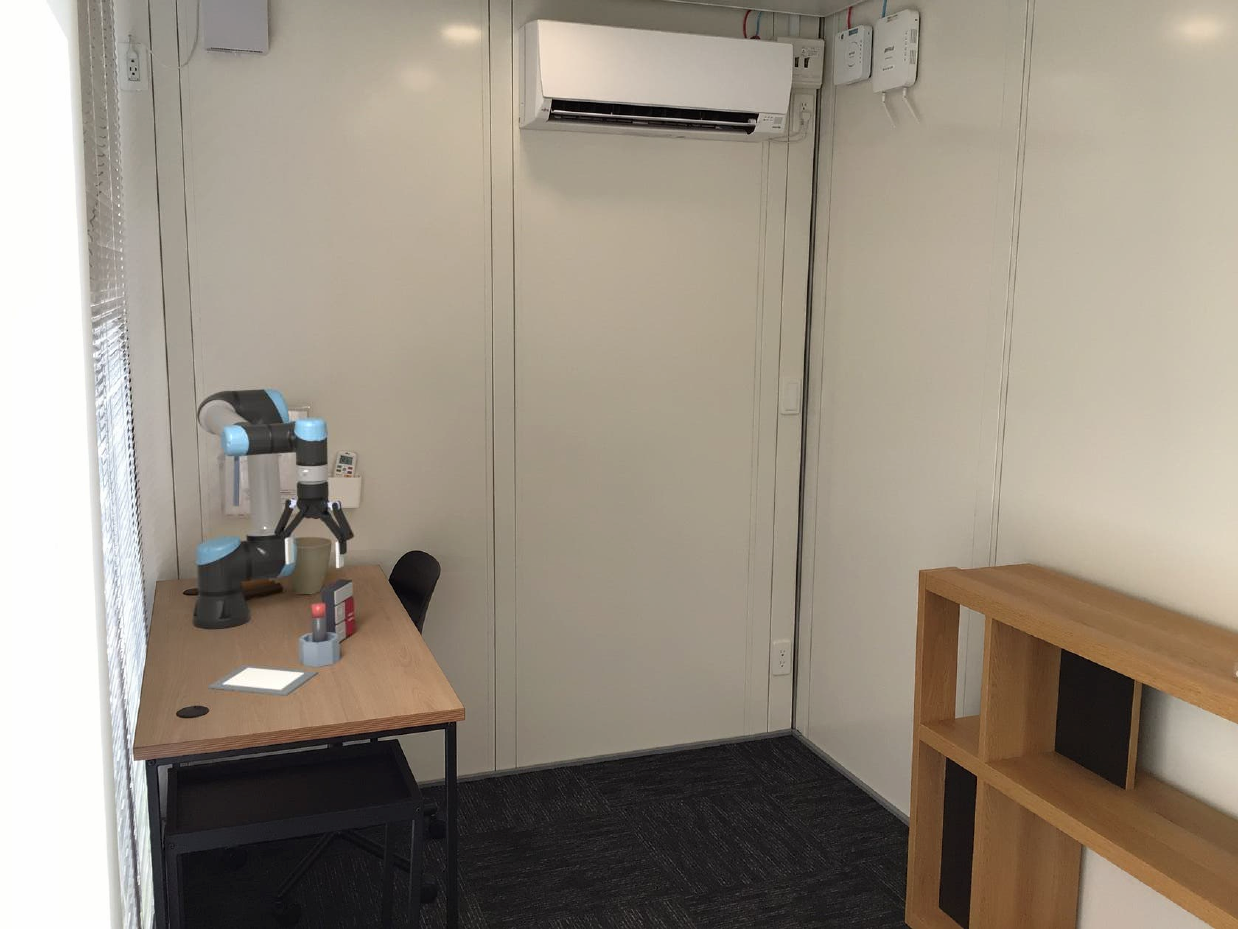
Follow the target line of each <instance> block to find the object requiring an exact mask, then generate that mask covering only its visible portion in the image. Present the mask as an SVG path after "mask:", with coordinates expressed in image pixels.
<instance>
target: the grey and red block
mask: <svg viewBox="0 0 1238 929" xmlns="http://www.w3.org/2000/svg"><path fill="white" fill-rule="evenodd" d="M320 592H321V595H320V596H321V603H325V606H326V632H333V633H335V634H336V635H338V636H339V643H340V642H342V641H343V640H344V639H346V638H348V637H349V636H350V635H352V634H354V632H355V629H356V628H355V599H354V598H355V597H354V596H353V595H354V582H353V580H352V579H342V578H339V579H338V580H336V581H334V582H332V583H331V584H329V585H327V586H325V587H324V588H321V590H320Z"/></svg>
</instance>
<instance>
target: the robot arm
mask: <svg viewBox="0 0 1238 929" xmlns="http://www.w3.org/2000/svg"><path fill="white" fill-rule="evenodd" d="M289 414H290V413H289V410H288V406H287V402H286V400H285V398H284V396H283V394H282V393H281V392H280V391H279V390H277V389H266V388H265V389H264V388H262V389H241V390H238V389H237V390H222V391H218V392H215V393H213V394H211V395H209V396H207V397H206V398H204V400H202V401H201V403H200V404H199V405H198V408H197V411H196V418H197V421H198V424H199V426H200V427H201V428H202V429H203V430H204V431H205V432H207V433H208V434H211V435H216V436H217V437H218V438H220V443H221V444H220V445H221V448H222V450H223V451H222V452H223V454H224V455H225V456H226V457H238V458H239V457H246V464H247V480H248V493H249V494H248V495H249V510H250V523H251V524H250V529H248V531H247V532H246V534H245V535H246V539H245V540H241V538H240V537H239V536H236V535H229V536H226V535H224V536H219V537H214V538H211V539H207V540H205V541H203V542H202V543H200V544H199V545H198V546H197V548H196V554H195V564H196V576H197V577H196V578H197V599H196V603H195V606H194V610H193V612H192V613H193V614H192V625H194V626H195V625H196V626H195V627H197V626H198V627H197V628H201V627H202V629H224V628H225V629H227V628H231V627H236V626H239V625H243V624H245V623H247V622H249V620H250V619H251V614H250V613H251V611H250V608H249V606H248V603H247V600H245V598H244V595H243V592H242V582H247V581H255V580H262V579H269V580H270V579H275V580H276V579H278V578H282V577H289V575H290V574H291V573H292V572H293V570H294V568H295V565H296V560H297V546H296V540H295V538H296V537H295V536H293V535H292V533H293V532H294V530H296V529H297V527H298V526H299V524H301V522H302V521H303V520H304V519H307V520H308V519H313V520H318V519H320V520H321V522H323V523H324V524H325V525H326V526H327V528H328V529H329V531H330V532H331V533H332V534H333V536H334V537H335V538H336V539H337V541H335V568H336V569H340V568H343V567H344V566H345V554H347V552H348V550H347V549H348V546H347V545H348V543H347V541H350V540H351V539H354V537H355V534H354V532H353V530H352V528H351V526H350V524H349V521H348V520H347V518H346V516H345V514H344V511H343V508H342V502H341V501H340V500H336V501H334V502H333V501H332V502H330V501H329V494H330V493H329V482H328V481H327V480H329V466H328V465H329V464H328V462H329V460H328V456H329V455H328V434H329V433H328V427H327V421H326V420H325V419H324V418H320V417H319V418H318V417H303V418H299V419H296V420H291V421H290V415H289ZM291 453H292V454H293V453H295V468H296V470H295V472H296V474H295V475H296V480H297V482H296V497H297V499H295V498H294V497H290V498H289V499H288V498H287V499H285V503H284V509H283V505H282V491H281V490H282V489H281V476H280V474H281V473H280V459H279V458H280V457H279V454H291ZM296 507H297V509H298V512H297V513H296V514H295V517H294V518H293V519H292V520H291V521H290V523H289V524H288V522H289V520H290V518H291V517H292V513H293V511H294V509H295V508H296ZM329 509H330V511H332V513H333V516H332V514H331V513H330V511H329ZM333 517H335V519H334V518H333Z"/></svg>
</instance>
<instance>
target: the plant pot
mask: <svg viewBox="0 0 1238 929" xmlns="http://www.w3.org/2000/svg"><path fill="white" fill-rule="evenodd" d="M294 538H295V540H296V546H297V560H296V565H295V568H294V570H293V572H292V573H291V574H290V575H288V577H289V580H290V583H291V585H292V587H293V589H294V592H295V593H296V594H297V595H301V594H310V595H315V593H316V594H318V593H320V592H321V590H322V587H323V583H324V581H325V578H326V575H327V571H328V568H329V562H330V559H331V550H332V544H333V542H332V539H330V538H327V537H321V536H302V537H301V536H300V537H294ZM319 591H320V592H319ZM317 592H318V593H317Z"/></svg>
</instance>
